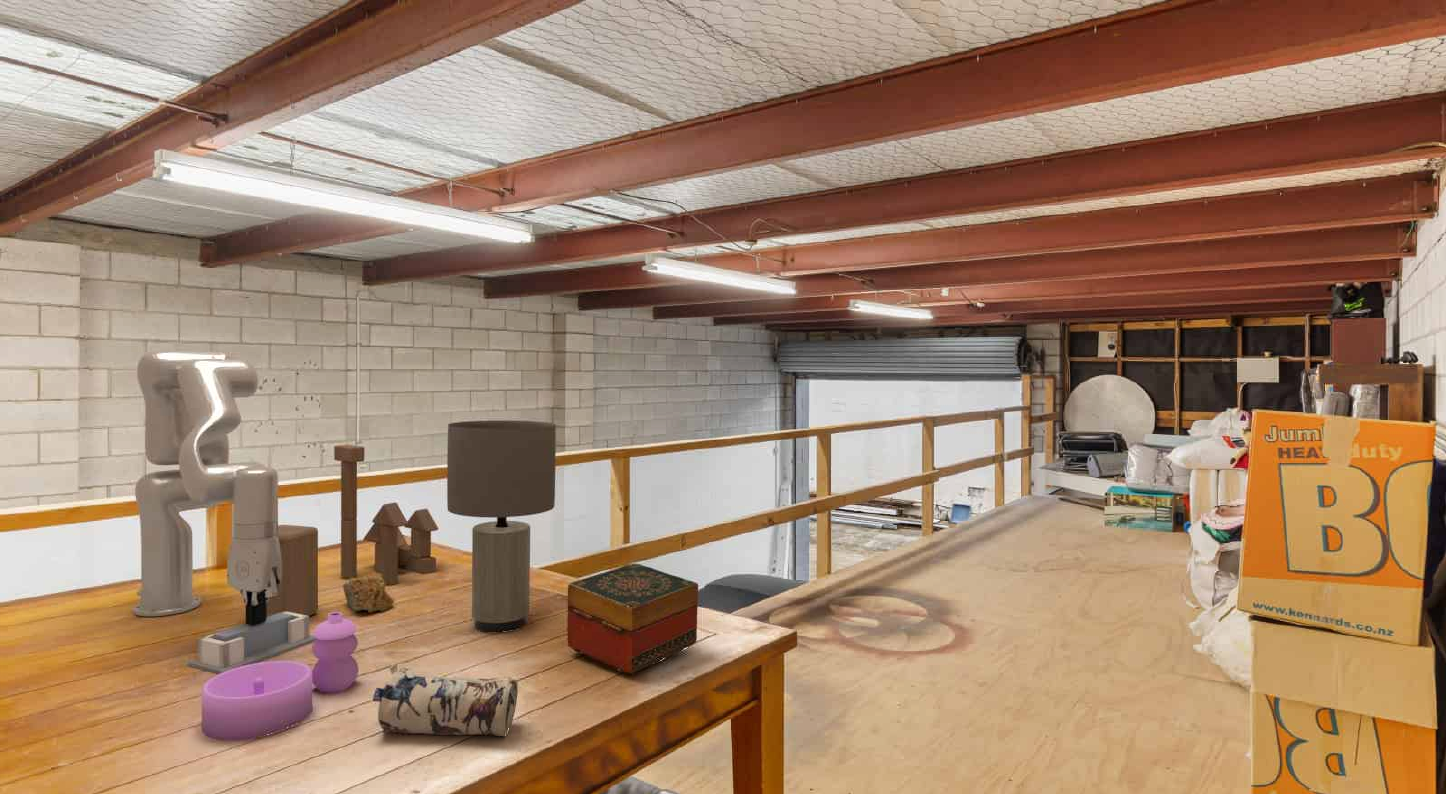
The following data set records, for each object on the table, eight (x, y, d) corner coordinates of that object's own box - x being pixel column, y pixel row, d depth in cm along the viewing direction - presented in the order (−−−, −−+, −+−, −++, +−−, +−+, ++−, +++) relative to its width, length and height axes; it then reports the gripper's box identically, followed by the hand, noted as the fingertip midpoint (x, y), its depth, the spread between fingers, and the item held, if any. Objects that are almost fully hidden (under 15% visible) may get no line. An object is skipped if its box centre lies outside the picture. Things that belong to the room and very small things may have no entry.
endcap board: (187, 665, 144) (187, 639, 144) (284, 632, 163) (284, 608, 162) (223, 674, 140) (223, 647, 140) (318, 639, 159) (318, 615, 159)
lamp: (438, 645, 157) (440, 428, 155) (453, 610, 179) (455, 420, 177) (552, 639, 162) (555, 429, 160) (553, 606, 184) (556, 420, 182)
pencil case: (369, 741, 118) (369, 678, 117) (396, 715, 126) (396, 657, 126) (509, 748, 117) (510, 684, 116) (527, 722, 125) (527, 663, 125)
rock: (350, 627, 180) (336, 588, 182) (387, 612, 186) (373, 574, 188) (363, 618, 172) (347, 576, 173) (401, 602, 178) (386, 562, 179)
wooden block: (286, 627, 165) (286, 535, 165) (247, 623, 167) (246, 532, 167) (319, 613, 175) (320, 526, 174) (281, 609, 177) (281, 523, 176)
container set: (239, 749, 114) (239, 662, 114) (181, 726, 121) (180, 643, 121) (382, 688, 137) (382, 615, 136) (326, 671, 143) (326, 601, 143)
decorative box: (641, 634, 169) (635, 559, 169) (710, 653, 153) (704, 570, 153) (561, 662, 155) (555, 581, 154) (628, 687, 139) (621, 596, 139)
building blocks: (384, 591, 193) (385, 452, 191) (328, 575, 206) (328, 444, 204) (449, 574, 209) (450, 446, 207) (392, 560, 222) (393, 439, 221)
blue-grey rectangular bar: (226, 663, 144) (225, 636, 144) (213, 659, 146) (213, 633, 145) (293, 639, 157) (293, 615, 157) (281, 636, 158) (281, 612, 158)
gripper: (211, 530, 150) (211, 622, 151) (264, 538, 144) (264, 634, 145) (248, 523, 157) (248, 611, 158) (300, 530, 151) (300, 622, 152)
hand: (256, 622), depth 151 cm, fingers closed
